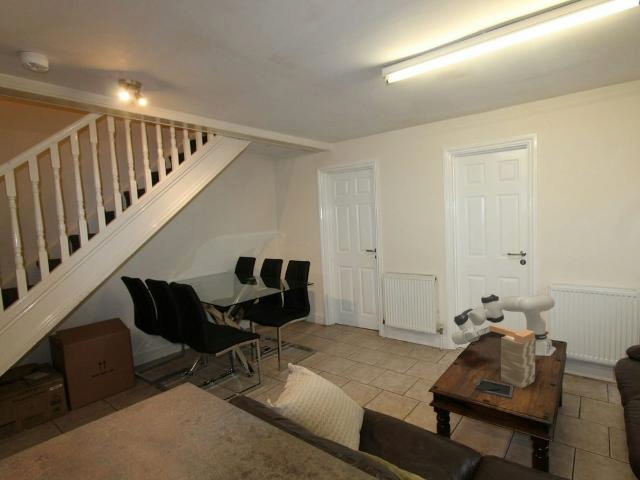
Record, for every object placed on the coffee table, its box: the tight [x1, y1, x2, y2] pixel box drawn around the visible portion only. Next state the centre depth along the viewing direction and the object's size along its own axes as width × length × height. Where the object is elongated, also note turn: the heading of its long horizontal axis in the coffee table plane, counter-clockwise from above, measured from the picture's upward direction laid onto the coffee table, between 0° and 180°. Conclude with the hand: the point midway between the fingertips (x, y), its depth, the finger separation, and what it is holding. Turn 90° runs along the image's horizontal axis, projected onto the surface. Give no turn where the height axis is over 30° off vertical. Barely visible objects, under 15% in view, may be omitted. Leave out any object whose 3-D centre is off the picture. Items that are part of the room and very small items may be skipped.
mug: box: [535, 357, 540, 379], centre depth 209 cm, size 12×8×9 cm, turn 117°
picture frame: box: [475, 377, 515, 400], centre depth 195 cm, size 13×2×18 cm
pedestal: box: [500, 335, 536, 390], centre depth 201 cm, size 14×12×26 cm
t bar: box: [488, 323, 535, 344], centre depth 204 cm, size 12×23×4 cm, turn 31°
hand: (489, 329), depth 215 cm, fingers open, 8 cm apart
